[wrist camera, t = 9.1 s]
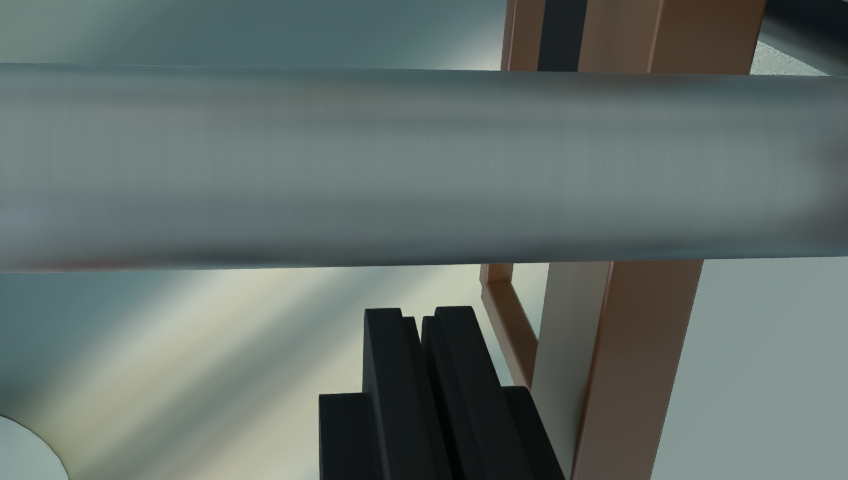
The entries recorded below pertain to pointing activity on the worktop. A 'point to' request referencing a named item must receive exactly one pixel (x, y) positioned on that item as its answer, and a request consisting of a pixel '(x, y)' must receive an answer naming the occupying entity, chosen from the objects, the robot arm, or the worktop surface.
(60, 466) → the cylindrical container
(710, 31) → the brown clothes hanger
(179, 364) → the worktop surface
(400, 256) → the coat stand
